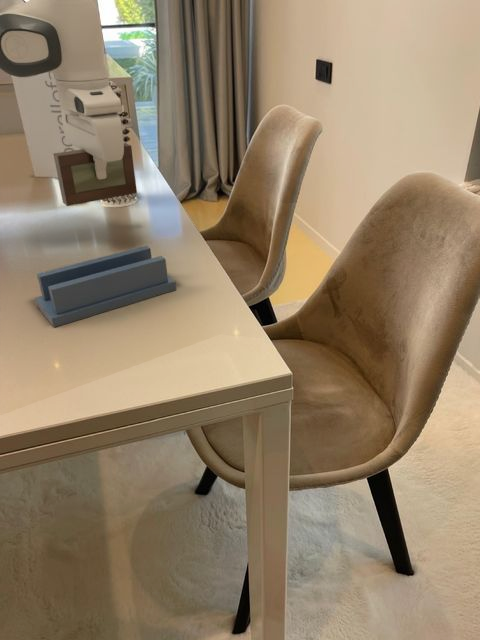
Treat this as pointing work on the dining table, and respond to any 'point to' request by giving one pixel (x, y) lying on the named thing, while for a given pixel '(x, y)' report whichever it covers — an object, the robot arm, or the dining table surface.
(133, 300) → the holder
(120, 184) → the frame
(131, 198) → the decorative candle
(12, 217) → the dining table surface
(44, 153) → the white tall rectangular block
